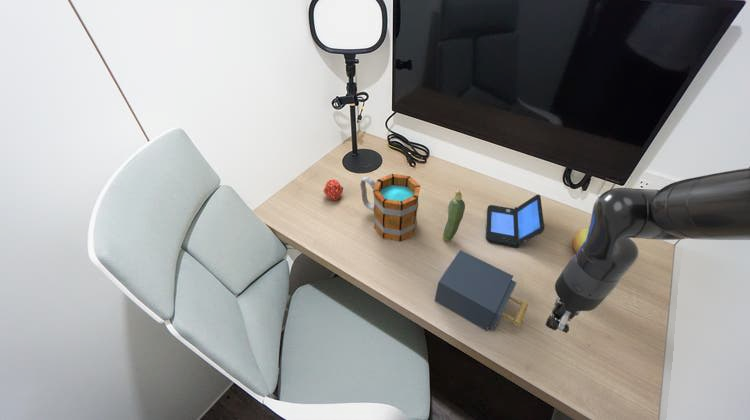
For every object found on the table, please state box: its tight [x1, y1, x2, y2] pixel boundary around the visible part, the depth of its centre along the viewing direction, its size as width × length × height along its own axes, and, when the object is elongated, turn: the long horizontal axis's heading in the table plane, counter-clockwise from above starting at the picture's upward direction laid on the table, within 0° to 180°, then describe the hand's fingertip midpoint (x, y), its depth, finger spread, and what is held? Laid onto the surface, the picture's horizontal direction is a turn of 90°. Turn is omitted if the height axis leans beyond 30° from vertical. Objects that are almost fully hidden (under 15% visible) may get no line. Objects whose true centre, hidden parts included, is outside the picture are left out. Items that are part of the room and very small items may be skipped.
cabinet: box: [434, 249, 514, 332], centre depth 76 cm, size 14×12×9 cm
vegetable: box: [442, 189, 466, 242], centre depth 86 cm, size 4×4×20 cm
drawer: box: [488, 279, 529, 331], centre depth 75 cm, size 17×10×7 cm, turn 54°
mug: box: [359, 173, 421, 242], centre depth 94 cm, size 20×14×15 cm
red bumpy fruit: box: [323, 179, 344, 201], centre depth 106 cm, size 6×7×8 cm
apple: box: [571, 227, 589, 255], centre depth 86 cm, size 10×10×8 cm
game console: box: [485, 194, 545, 249], centre depth 93 cm, size 16×13×9 cm
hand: (551, 325), depth 68 cm, fingers closed
